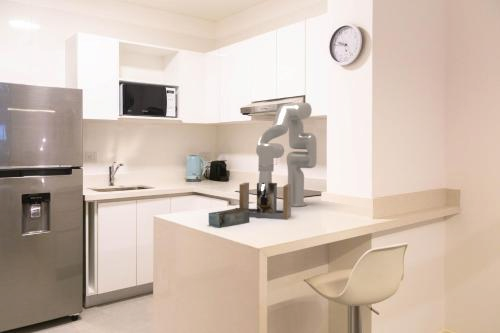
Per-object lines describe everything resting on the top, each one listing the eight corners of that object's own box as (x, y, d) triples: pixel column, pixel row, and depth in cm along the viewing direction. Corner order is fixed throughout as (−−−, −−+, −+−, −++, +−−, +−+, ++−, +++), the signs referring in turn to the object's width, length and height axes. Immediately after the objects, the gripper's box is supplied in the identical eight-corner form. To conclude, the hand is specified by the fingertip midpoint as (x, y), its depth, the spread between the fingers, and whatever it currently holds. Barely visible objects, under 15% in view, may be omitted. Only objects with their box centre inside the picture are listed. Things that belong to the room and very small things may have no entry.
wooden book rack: (245, 213, 216) (245, 182, 215) (290, 215, 210) (291, 184, 209) (239, 216, 206) (239, 184, 205) (287, 219, 199) (287, 186, 198)
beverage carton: (207, 225, 184) (207, 211, 183) (238, 220, 198) (238, 206, 197) (219, 228, 178) (219, 213, 178) (250, 222, 192) (250, 208, 192)
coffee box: (256, 215, 206) (256, 183, 205) (259, 213, 212) (259, 181, 211) (274, 216, 203) (274, 183, 202) (277, 214, 209) (277, 182, 208)
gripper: (262, 167, 216) (262, 201, 217) (254, 169, 199) (254, 206, 200) (276, 167, 214) (276, 202, 215) (269, 170, 197) (269, 207, 198)
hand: (265, 203), depth 208 cm, fingers closed on coffee box, 6 cm apart
